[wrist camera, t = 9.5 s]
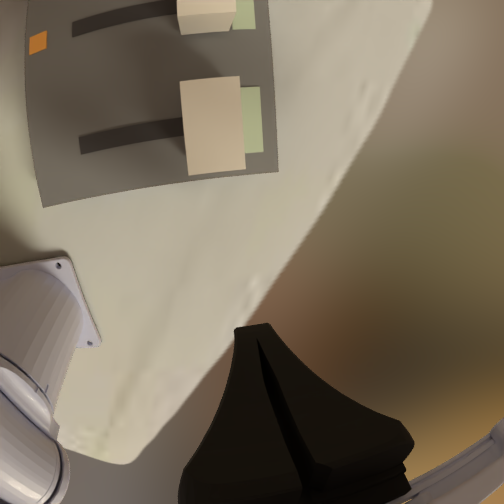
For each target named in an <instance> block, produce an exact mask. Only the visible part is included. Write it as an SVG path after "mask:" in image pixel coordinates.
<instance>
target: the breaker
mask: <svg viewBox="0 0 504 504" xmlns="http://www.w3.org/2000/svg"><path fill="white" fill-rule="evenodd" d="M180 93H181V106H182V117H183V128H184V138H185V148H186V157H187V166H188V175H197V174H205V173H214V172H223V171H232V170H242V169H246V164H245V149H244V135H243V120H242V105H241V90H240V76H231V77H217V78H206V79H196V80H188V81H180Z"/></svg>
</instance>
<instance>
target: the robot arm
mask: <svg viewBox="0 0 504 504" xmlns="http://www.w3.org/2000/svg"><path fill="white" fill-rule="evenodd" d="M57 263H60V264H61V267H60V266H58V264H57ZM234 337H235V342H234V353H233V358H232V364H231V369H230V373H229V377H228V380H227V384H226V388H225V391H224V394H223V397H222V399H221V402H220V405H219V407H218V410H217V412H216V414H215V417H214V419H213V421H212V423H211V425H210V427H209V429H208V431H207V433H206V434H205V436H204V438H203V440H202V442H201V443H200V445H199V447H198V448H197V450H196V452H195V453H194V455H193V456H192V458H191V459H190V460H189V462H188V463H187V465H186V466H185V468H184V469H183V473H182V477H181V480H180V484H179V490H178V504H402V503H404V502H406V501H408V500H410V499H412V500H410V501H408V502H406V503H405V504H480V503H481V502H482V501H484V500H485V499H486V498H487V497H488V496H490V495H491V494H492V493H493V492H494V491H496V490H497V489H498V488H499V487H500V486H501V485H502V484H503V483H504V418H502V419H501V420H500V421H499V422H498V423H497V424H496V425H495V426H494V427H493V428H492V429H491V431H490V433H489V434H487V435H486V436H484V437H483V438H482V439H480V440H479V441H477V442H476V443H474V444H473V445H471V446H470V447H468V448H467V449H465V450H464V451H462V452H461V453H459V454H458V455H456V456H454V457H453V458H451V459H449V460H448V461H446V462H444V463H443V464H441V465H439V466H437V467H436V468H434V469H432V470H430V471H428V472H427V473H425V474H423V475H421V476H419V477H417V478H415V479H413V480H411V481H409V482H408V480H407V478H406V476H405V474H404V473H405V472H406V468H405V466H404V464H403V461H404V460H405V459H406V458H407V456H408V455H409V454H410V452H411V451H412V449H413V447H414V440H413V439H412V437H411V435H410V433H409V432H408V431H407V429H406V428H405V427H404V426H403V424H402V423H401V422H400V421H399V420H396V419H393V418H391V417H388V416H385V415H383V414H380V413H377V412H375V411H373V410H371V409H369V408H367V407H365V406H363V405H361V404H359V403H357V402H356V401H354V400H352V399H350V398H349V397H347V396H345V395H344V394H342V393H340V392H339V391H337V390H336V389H334V388H333V387H332V386H330V385H329V384H327V383H326V382H325V381H324V380H322V379H321V378H320V377H318V376H317V375H316V374H315V373H314V372H312V371H311V370H310V369H309V368H308V367H307V366H306V365H305V364H304V363H303V362H302V361H301V360H300V359H299V358H298V357H297V356H296V355H295V354H294V353H293V352H292V351H291V350H290V349H289V348H288V347H287V346H286V344H285V343H284V342H283V341H282V340H281V338H280V337H279V336H278V335H277V333H276V332H275V331H274V329H273V328H272V326H271V325H270V324H269V323H263V324H257V325H251V326H244V327H237V328H236V329H235V330H234ZM89 341H91V342H89ZM101 342H102V341H101V338H100V336H99V333H98V331H97V329H96V326H95V324H94V322H93V319H92V317H91V314H90V312H89V309H88V307H87V304H86V302H85V299H84V296H83V294H82V291H81V288H80V285H79V283H78V280H77V277H76V274H75V271H74V268H73V265H72V262H71V260H70V259H69V258H68V257H66V256H63V257H56V258H50V259H44V260H38V261H32V262H26V263H20V264H14V265H8V266H2V267H0V504H59V503H60V502H61V500H62V499H63V497H64V495H65V493H66V491H67V488H68V484H69V478H70V465H69V460H68V456H67V453H66V451H65V449H64V448H63V447H62V445H61V444H60V443H59V442H58V441H57V436H58V432H59V428H60V426H59V425H58V424H57V422H56V421H55V420H54V418H53V414H54V411H55V407H56V404H57V401H58V397H59V394H60V391H61V388H62V385H63V382H64V379H65V376H66V373H67V370H68V367H69V364H70V362H71V359H72V356H73V353H74V351H75V348H92V347H100V346H101Z"/></svg>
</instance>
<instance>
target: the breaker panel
mask: <svg viewBox="0 0 504 504" xmlns="http://www.w3.org/2000/svg"><path fill="white" fill-rule="evenodd" d="M231 76H240V90H241V105H242V120H243V135H244V149H245V164H246V169H242V170H232V171H223V172H214V173H205V174H197V175H188V166H187V157H186V148H185V138H184V128H183V117H182V106H181V93H180V81H188V80H196V79H206V78H217V77H231ZM25 92H26V107H27V118H28V127H29V136H30V143H31V150H32V156H33V162H34V168H35V173H36V178H37V183H38V188H39V193H40V197H41V202H42V206H43V208H45V207H49V206H53V205H58V204H62V203H67V202H71V201H76V200H81V199H86V198H91V197H96V196H101V195H106V194H112V193H117V192H123V191H128V190H134V189H140V188H147V187H153V186H159V185H166V184H173V183H180V182H188V181H195V180H203V179H212V178H220V177H229V176H239V175H249V174H260V173H272V172H278V148H277V127H276V108H275V91H274V75H273V60H272V46H271V32H270V20H269V8H268V0H236V14H235V17H234V19H233V22H232V24H231V27H230V29H229V31H222V32H208V33H197V34H187V35H181V32H180V27H179V22H178V17H177V0H28V8H27V19H26V33H25Z"/></svg>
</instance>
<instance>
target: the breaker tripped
mask: <svg viewBox="0 0 504 504" xmlns="http://www.w3.org/2000/svg"><path fill="white" fill-rule="evenodd" d="M235 14H236V0H177V17H178V22H179V27H180V32H181V35H187V34H197V33H208V32H222V31H229V29H230V27H231V24H232V22H233V19H234V17H235Z"/></svg>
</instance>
